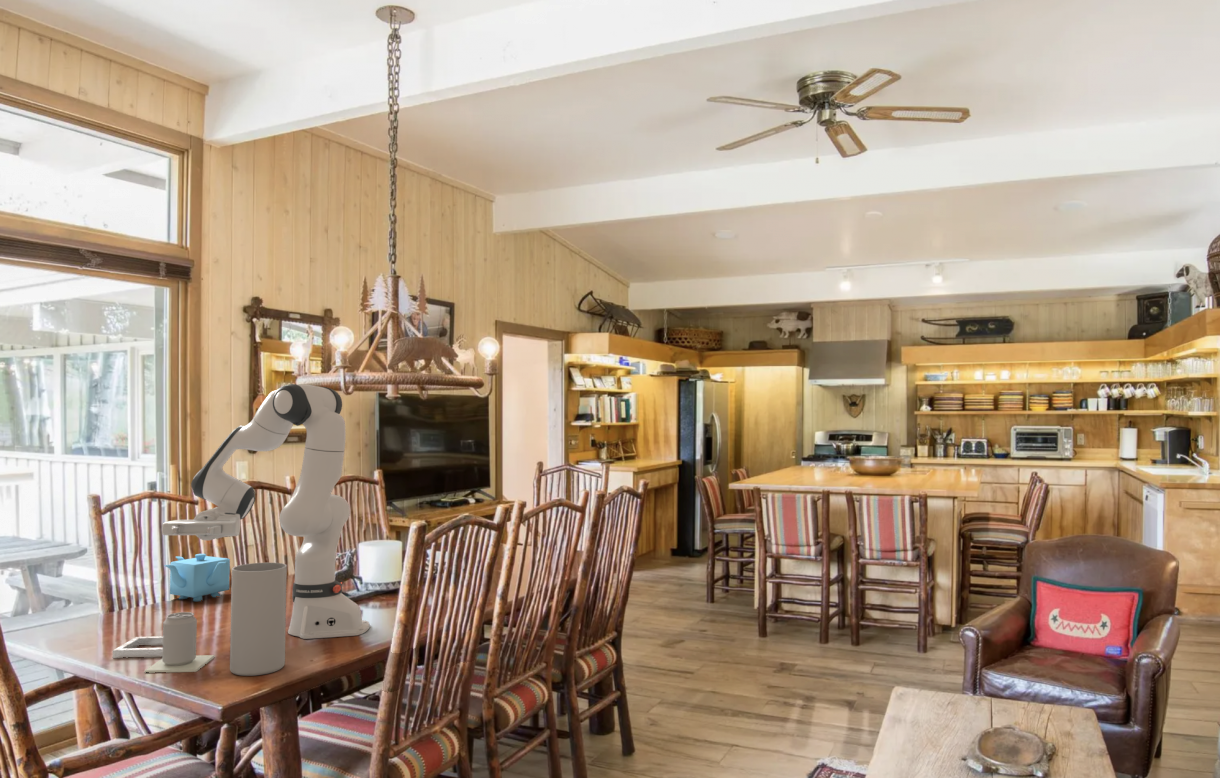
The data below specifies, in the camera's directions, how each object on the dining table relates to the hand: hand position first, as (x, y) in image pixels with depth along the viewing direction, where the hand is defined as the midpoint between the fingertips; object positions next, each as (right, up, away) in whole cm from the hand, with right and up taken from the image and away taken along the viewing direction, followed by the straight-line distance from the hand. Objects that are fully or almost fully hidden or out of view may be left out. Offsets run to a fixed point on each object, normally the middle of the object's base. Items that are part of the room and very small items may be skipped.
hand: (191, 531), depth 232 cm
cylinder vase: (+30, -30, -27) cm, 50 cm away
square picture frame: (-5, -30, -12) cm, 32 cm away
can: (+9, -29, -24) cm, 39 cm away
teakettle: (-24, -32, +52) cm, 65 cm away
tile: (+9, -29, -24) cm, 39 cm away
